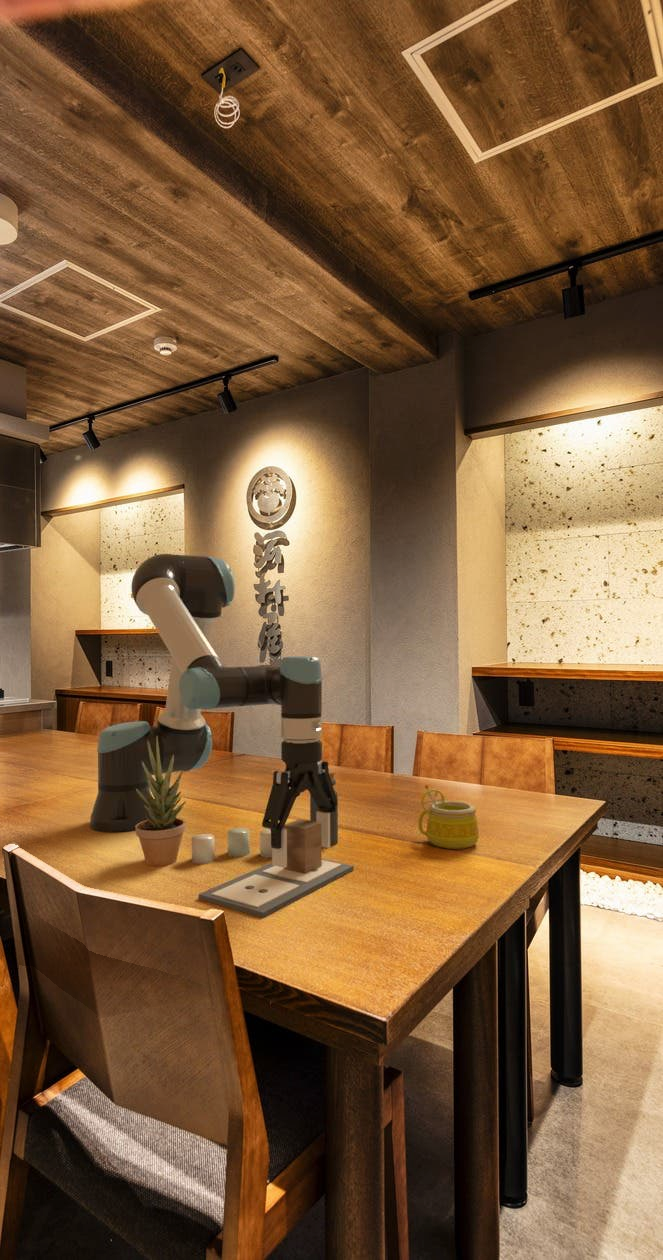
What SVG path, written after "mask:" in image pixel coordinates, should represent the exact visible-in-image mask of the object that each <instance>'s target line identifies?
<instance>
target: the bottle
mask: <svg viewBox="0 0 663 1260" xmlns="http://www.w3.org/2000/svg"><path fill="white" fill-rule="evenodd" d="M328 770H329V775H330V778H331V782H332V785H333V787H334V786H336V785H337V784H336V783H337V781H336V779H335V773H336V772H335V770H332V769H328ZM334 791H335V795H336V798H337V801H338V799H339V798H338V797H339V796H338V791H337V790H336V789H334ZM329 799H331V798H329ZM309 801H310V802H309V803H310V804H309V808H310V810H309V818H310V820H309V821H315V822H316V812H317V811H321V810H319V808H318V806H317V805H316V803H315V801H314V799H313V798H312V796H311V794H310V793H309ZM334 807H335V806H334ZM338 807H339V804H338V805H337V806H336V811H335V812H331V826H330V847H331V846H334V845H337V844H338V842H339V818H338V817H339V813H338V810H339V808H338Z"/></svg>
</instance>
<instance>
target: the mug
mask: <svg viewBox="0 0 663 1260" xmlns="http://www.w3.org/2000/svg"><path fill="white" fill-rule="evenodd" d="M424 788H425V789H426V790H427V791H425V792H424V793H423V795H422V797H421V800H420V804H421V807H422V809H423V811H422V812H421V813H420V814H419V817H418V821H417V822H418V823H417V824H418V830H419V832H420V833H421V834H422V835H424V836H426V837H427V840H428V842H430V843H431V844H432V845H433V846H436V847H439V848H443V849H448V850H449V849H450V850H459V849H460V850H463V849H467V848H471V847H473V846H475V845H476V844H477V843H478V840H479V837H480V835H479V826H478V824H479V823H478V818H477V815H476V811H477V809H476V808H475V806H474V805H473V804H471V803H468V802H464V801H457V800H445V796H444V794H443V793H442V791H440V790H438V789H435V788H433V789H429V785H428V784H425V785H424ZM431 792H434V796H433V795H432V793H431ZM439 794H440V796H441V798H440V799H436V798H437V796H438V795H439ZM426 796H427V797H429V799H430V801H429V800H428V801H425V800H424V799H425V797H426ZM435 799H436V800H435ZM425 804H430V805H429V807H428V808H427V809H426V808H425ZM427 814H428V817H427V825H426V830H424V829H423V819H424V816H425V815H427Z"/></svg>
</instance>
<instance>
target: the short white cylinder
mask: <svg viewBox="0 0 663 1260" xmlns="http://www.w3.org/2000/svg"><path fill="white" fill-rule="evenodd" d="M259 852H260V853H259V854H260V857H262V858H265V859H266V858H267V859H268V858H269V859H272V847H271V830H270V829H269V828H266V829H263V830H260V832H259Z"/></svg>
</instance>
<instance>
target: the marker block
mask: <svg viewBox="0 0 663 1260" xmlns="http://www.w3.org/2000/svg"><path fill="white" fill-rule="evenodd" d="M283 829H287V867H285V868H284V869H287V870H291V871H296V872H300V873H304V874H306V873H308V872H310V871H312V870H315V869H317V868H319V867H321V866H322V859H323V858H322V848H323V847H321V823H320V822H315V821H310V820H309V819H308V820H307V819H302V818H299V819H296V820H293V821H290V822H286V823H285V825H284V828H283Z"/></svg>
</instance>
